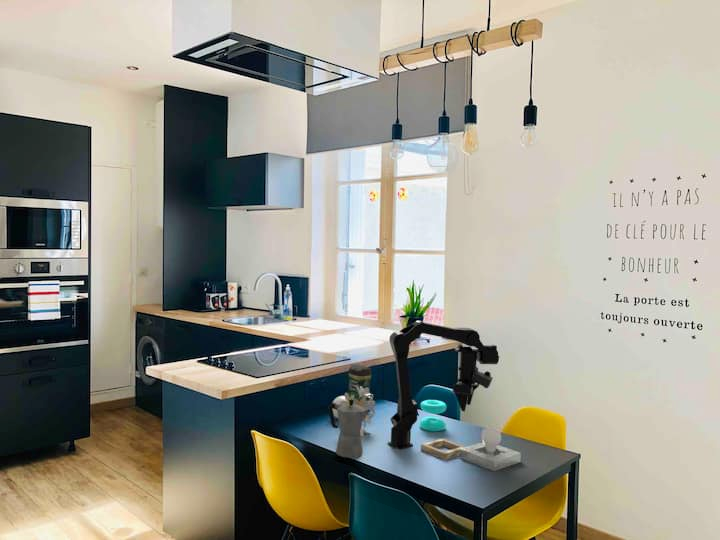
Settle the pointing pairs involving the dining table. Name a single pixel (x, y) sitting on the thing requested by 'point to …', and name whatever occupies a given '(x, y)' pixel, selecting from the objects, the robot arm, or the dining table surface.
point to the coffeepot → (348, 428)
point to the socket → (498, 461)
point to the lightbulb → (491, 439)
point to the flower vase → (345, 401)
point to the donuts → (433, 422)
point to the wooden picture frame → (432, 449)
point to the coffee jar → (359, 380)
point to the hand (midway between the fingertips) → (466, 407)
